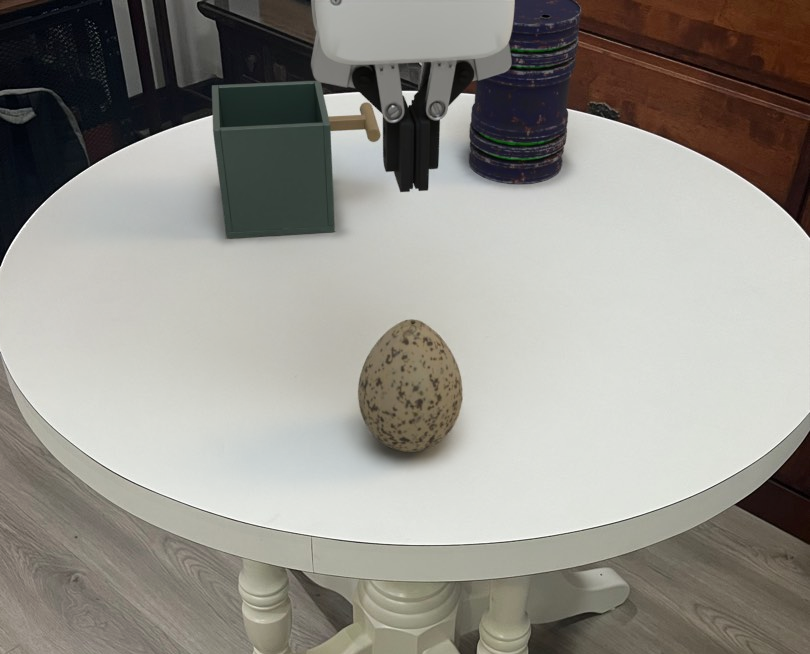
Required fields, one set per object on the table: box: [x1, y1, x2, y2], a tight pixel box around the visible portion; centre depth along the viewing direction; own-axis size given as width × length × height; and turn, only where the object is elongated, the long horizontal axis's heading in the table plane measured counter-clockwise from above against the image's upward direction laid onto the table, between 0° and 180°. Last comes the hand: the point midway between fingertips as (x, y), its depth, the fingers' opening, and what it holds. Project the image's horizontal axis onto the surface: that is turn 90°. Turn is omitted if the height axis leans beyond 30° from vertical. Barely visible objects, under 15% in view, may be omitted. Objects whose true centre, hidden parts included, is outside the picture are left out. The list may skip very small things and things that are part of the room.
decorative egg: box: [357, 318, 463, 453], centre depth 68 cm, size 7×7×10 cm
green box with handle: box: [211, 80, 381, 239], centre depth 92 cm, size 10×10×15 cm
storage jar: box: [468, 0, 582, 185], centre depth 98 cm, size 10×10×15 cm
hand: (410, 180), depth 58 cm, fingers closed
